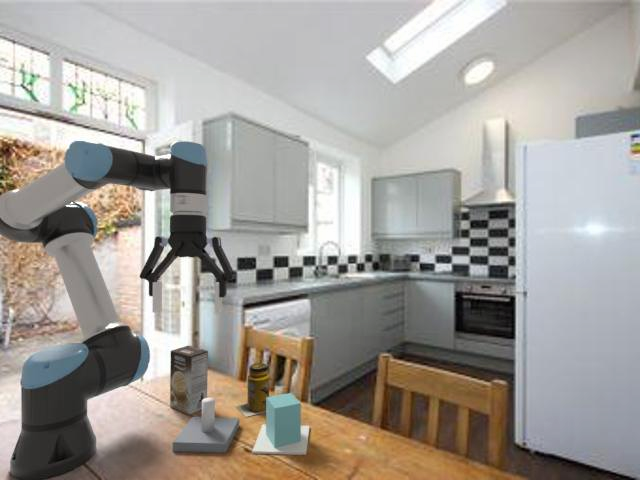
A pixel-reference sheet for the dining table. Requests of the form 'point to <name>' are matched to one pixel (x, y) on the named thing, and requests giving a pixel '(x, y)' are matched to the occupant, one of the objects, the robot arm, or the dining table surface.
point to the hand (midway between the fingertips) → (187, 312)
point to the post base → (206, 439)
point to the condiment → (256, 390)
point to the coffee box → (188, 378)
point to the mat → (266, 446)
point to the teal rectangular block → (283, 420)
